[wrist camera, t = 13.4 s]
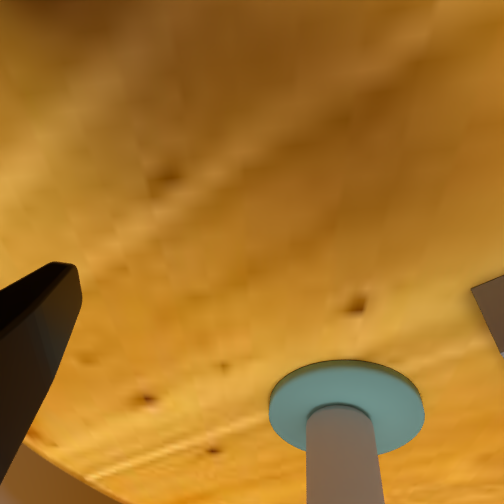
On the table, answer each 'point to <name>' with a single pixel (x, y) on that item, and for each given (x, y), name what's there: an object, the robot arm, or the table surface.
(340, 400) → the teal pad
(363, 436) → the beverage can
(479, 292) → the can holder
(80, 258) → the table surface
